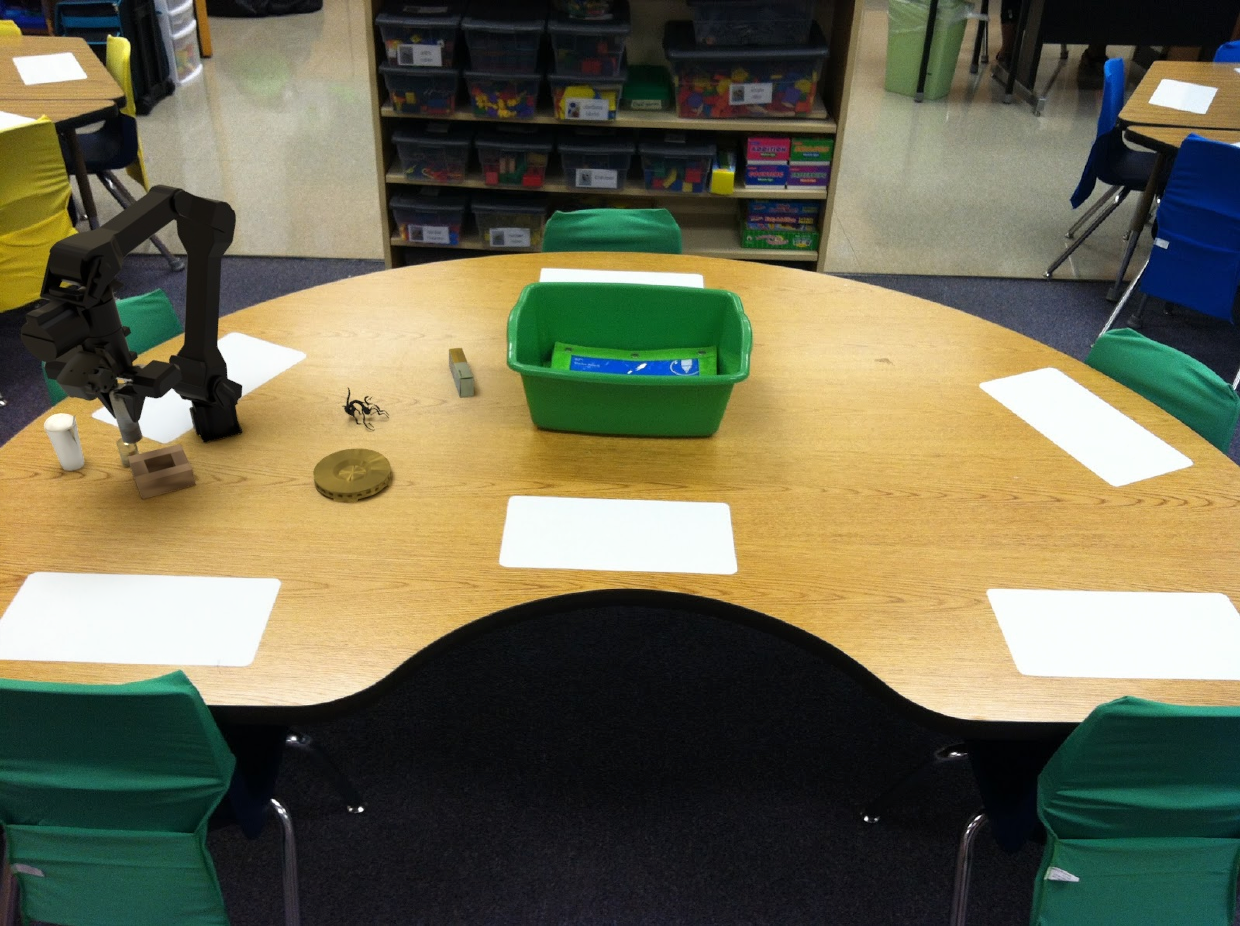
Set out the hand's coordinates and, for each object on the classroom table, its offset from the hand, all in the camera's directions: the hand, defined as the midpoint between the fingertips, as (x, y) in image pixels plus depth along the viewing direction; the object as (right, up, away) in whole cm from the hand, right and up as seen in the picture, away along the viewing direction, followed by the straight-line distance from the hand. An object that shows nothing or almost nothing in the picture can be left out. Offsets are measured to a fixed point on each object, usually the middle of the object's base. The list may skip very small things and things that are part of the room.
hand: (127, 419), depth 155 cm
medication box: (+44, +9, +38) cm, 59 cm away
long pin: (0, -3, +2) cm, 3 cm away
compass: (+31, -10, +12) cm, 34 cm away
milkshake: (-14, -7, +11) cm, 19 cm away
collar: (+1, -9, +9) cm, 13 cm away
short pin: (-5, -6, +13) cm, 15 cm away
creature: (+30, +1, +26) cm, 39 cm away
